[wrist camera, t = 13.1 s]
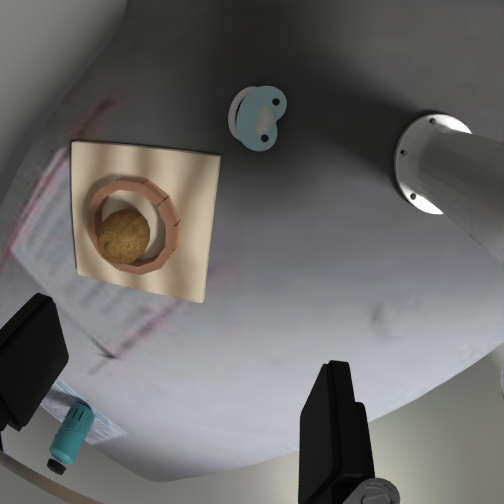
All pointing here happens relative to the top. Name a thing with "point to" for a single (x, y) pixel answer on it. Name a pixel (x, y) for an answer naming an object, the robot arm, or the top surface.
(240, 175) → the top surface
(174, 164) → the ring board
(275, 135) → the pacifier
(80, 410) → the beverage bottle
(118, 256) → the fruit
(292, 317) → the top surface
